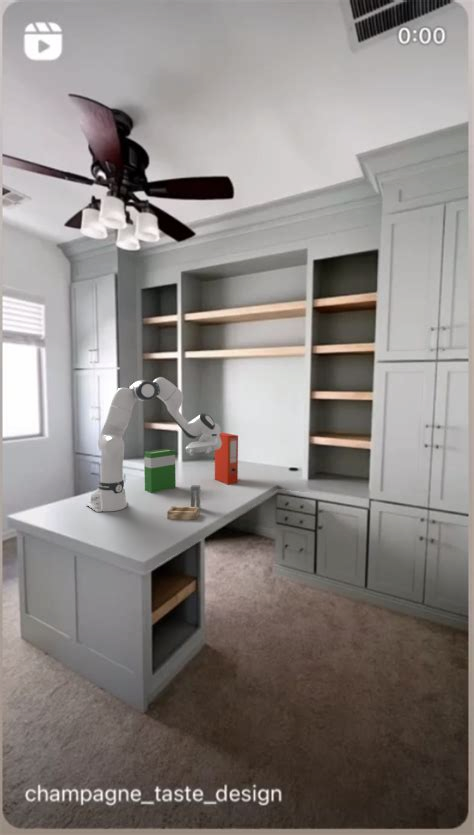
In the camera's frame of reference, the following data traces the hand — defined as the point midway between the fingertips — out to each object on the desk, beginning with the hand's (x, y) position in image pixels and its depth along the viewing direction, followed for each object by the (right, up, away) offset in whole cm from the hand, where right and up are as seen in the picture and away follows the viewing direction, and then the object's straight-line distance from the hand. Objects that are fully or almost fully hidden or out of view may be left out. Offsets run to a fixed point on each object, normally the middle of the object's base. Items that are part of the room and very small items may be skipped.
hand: (198, 453), depth 199 cm
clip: (-1, -28, -7) cm, 29 cm away
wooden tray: (-5, -29, -18) cm, 35 cm away
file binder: (+13, -24, +52) cm, 59 cm away
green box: (-27, -26, +32) cm, 49 cm away
